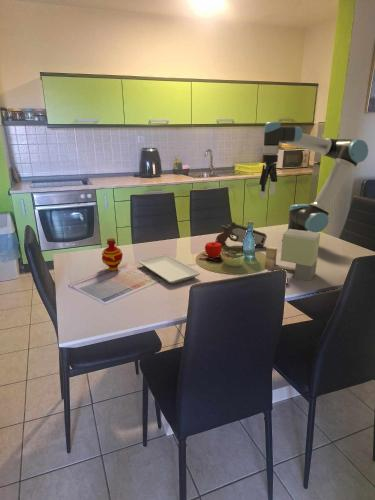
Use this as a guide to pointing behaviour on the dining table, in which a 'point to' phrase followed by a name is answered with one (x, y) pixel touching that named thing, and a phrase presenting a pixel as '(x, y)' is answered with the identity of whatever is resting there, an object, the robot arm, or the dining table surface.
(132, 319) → the dining table surface
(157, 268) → the tray
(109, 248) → the red yellow vase
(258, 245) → the gun
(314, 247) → the pale green stepped block
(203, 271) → the dining table surface
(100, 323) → the dining table surface
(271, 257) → the blade tool
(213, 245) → the apple
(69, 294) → the dining table surface
